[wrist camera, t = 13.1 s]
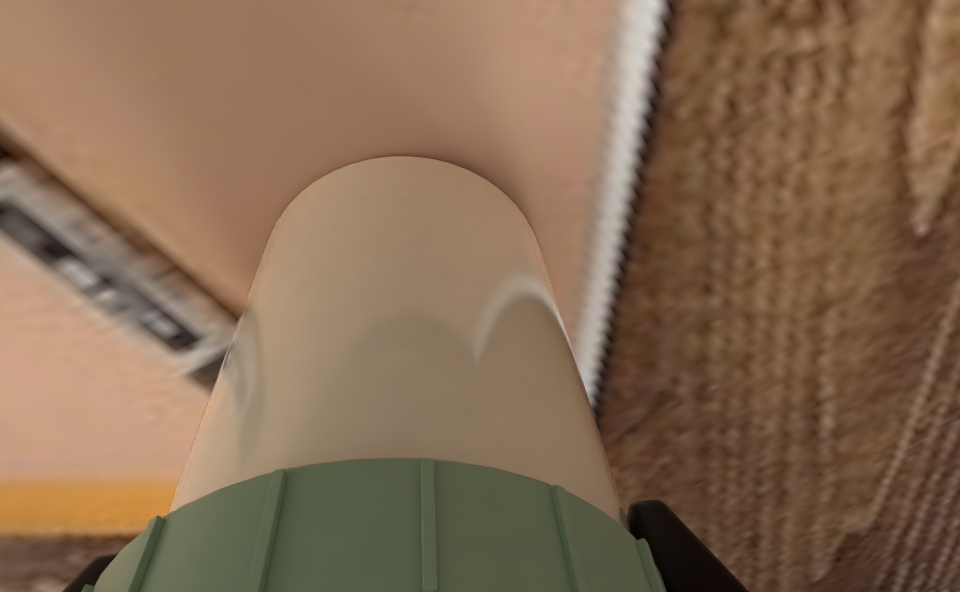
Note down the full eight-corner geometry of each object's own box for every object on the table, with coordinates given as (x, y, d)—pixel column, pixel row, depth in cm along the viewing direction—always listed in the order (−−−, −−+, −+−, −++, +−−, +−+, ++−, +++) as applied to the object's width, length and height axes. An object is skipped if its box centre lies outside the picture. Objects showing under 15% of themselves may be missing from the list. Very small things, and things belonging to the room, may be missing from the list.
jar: (545, 144, 13) (750, 598, 5) (541, 379, 16) (662, 877, 8) (232, 164, 13) (-61, 679, 5) (293, 400, 16) (176, 936, 8)
